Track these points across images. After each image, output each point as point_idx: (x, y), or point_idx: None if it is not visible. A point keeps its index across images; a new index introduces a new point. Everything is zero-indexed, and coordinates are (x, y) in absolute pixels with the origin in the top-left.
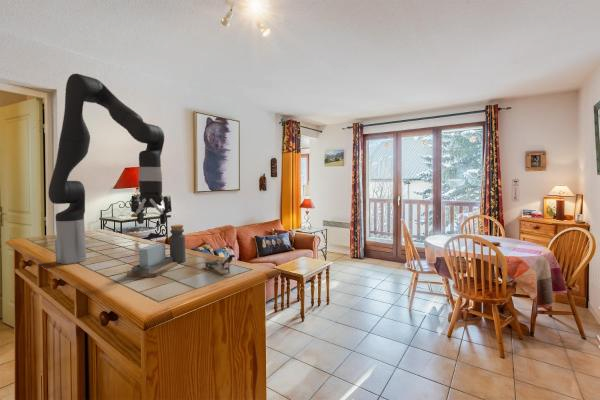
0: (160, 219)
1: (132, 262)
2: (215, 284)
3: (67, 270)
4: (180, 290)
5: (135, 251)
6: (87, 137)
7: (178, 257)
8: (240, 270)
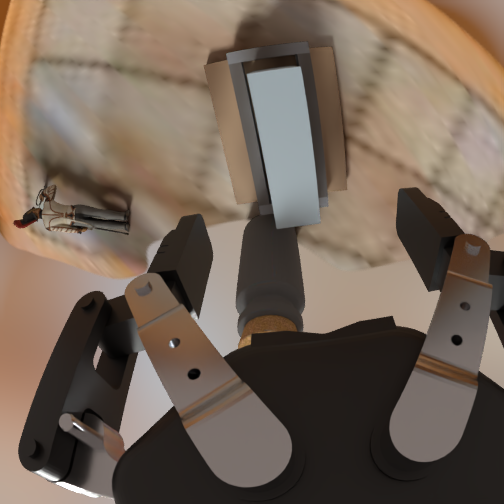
0: (184, 237)
1: None
2: (16, 104)
3: None
4: (54, 27)
5: None
6: None
7: (250, 231)
8: None
